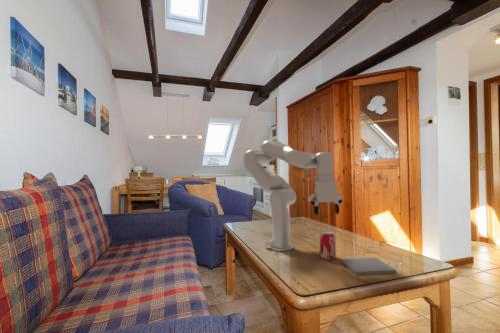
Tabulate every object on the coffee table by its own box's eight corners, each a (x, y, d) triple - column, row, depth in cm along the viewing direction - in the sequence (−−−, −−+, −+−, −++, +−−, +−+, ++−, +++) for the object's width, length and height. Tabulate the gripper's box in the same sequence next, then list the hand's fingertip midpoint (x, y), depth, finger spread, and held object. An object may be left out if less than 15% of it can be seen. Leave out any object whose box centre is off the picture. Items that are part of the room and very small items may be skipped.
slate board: (356, 274, 95) (356, 271, 95) (341, 261, 109) (341, 259, 109) (396, 273, 96) (396, 270, 96) (376, 260, 110) (376, 257, 110)
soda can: (327, 261, 110) (326, 234, 111) (316, 256, 117) (316, 231, 117) (339, 258, 114) (338, 232, 114) (327, 254, 120) (326, 229, 120)
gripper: (309, 178, 112) (311, 216, 112) (346, 177, 113) (347, 214, 112) (305, 178, 120) (306, 213, 119) (339, 177, 120) (341, 212, 120)
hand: (326, 214), depth 116 cm, fingers open, 9 cm apart
